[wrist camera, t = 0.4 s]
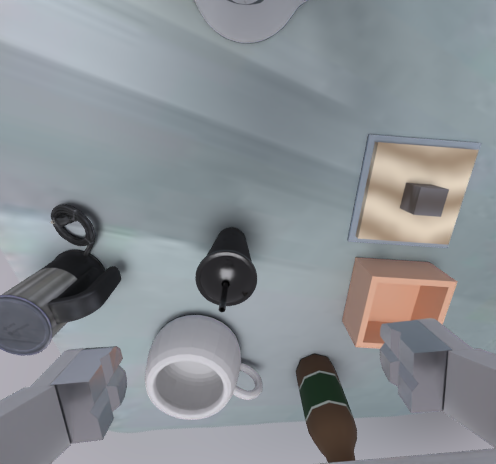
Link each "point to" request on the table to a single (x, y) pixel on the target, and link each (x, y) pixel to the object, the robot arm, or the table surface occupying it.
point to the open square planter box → (393, 296)
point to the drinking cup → (227, 270)
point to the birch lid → (414, 192)
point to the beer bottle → (326, 409)
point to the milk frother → (55, 291)
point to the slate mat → (365, 171)
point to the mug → (196, 368)
